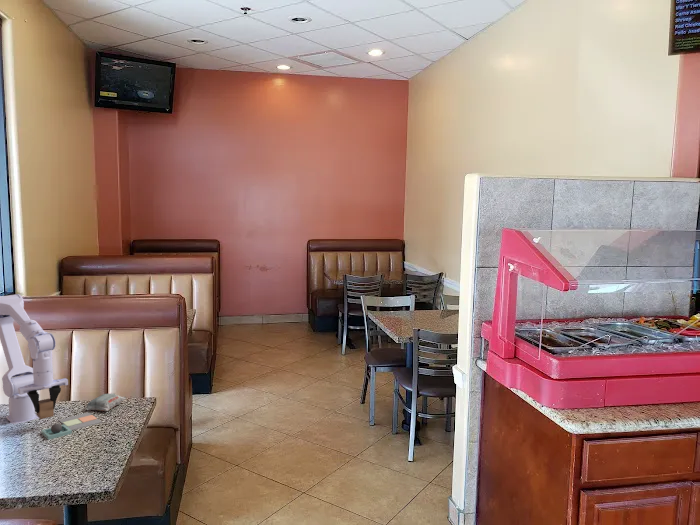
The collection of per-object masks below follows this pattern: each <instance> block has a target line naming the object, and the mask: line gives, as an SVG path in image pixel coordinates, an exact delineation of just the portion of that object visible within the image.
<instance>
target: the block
mask: <svg viewBox="0 0 700 525" xmlns="http://www.w3.org/2000/svg"><path fill="white" fill-rule="evenodd" d="M54 412H55V409H53V401H52V400H51V399H50V398H46V399H45V398H43V399H41V400H40V399H39V413H36V415H37V416H38V417H39V418H38V417H37V418H38V419H39V420H44V419H48V418H51V417H54V416H55V415H54Z"/></svg>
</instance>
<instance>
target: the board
mask: <svg viewBox="0 0 700 525" xmlns="http://www.w3.org/2000/svg"><path fill="white" fill-rule="evenodd" d="M58 422H60V423H61V425H64V424H65V425H66V426H67V427H68V428H69V429H71V430H72V431H76V430H78V429H79V430H80V429H83V428H87V427H90V426H93V425H94V426H95V425H98V424H102V423H103V422H102V421H101V420H100V419H98V418H97V417H95V416H94V415H93V414H92V413H90V412H88V411H87V412H86V413H82V414H78V415H73V416H69V417H64V418H61V419H58Z"/></svg>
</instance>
